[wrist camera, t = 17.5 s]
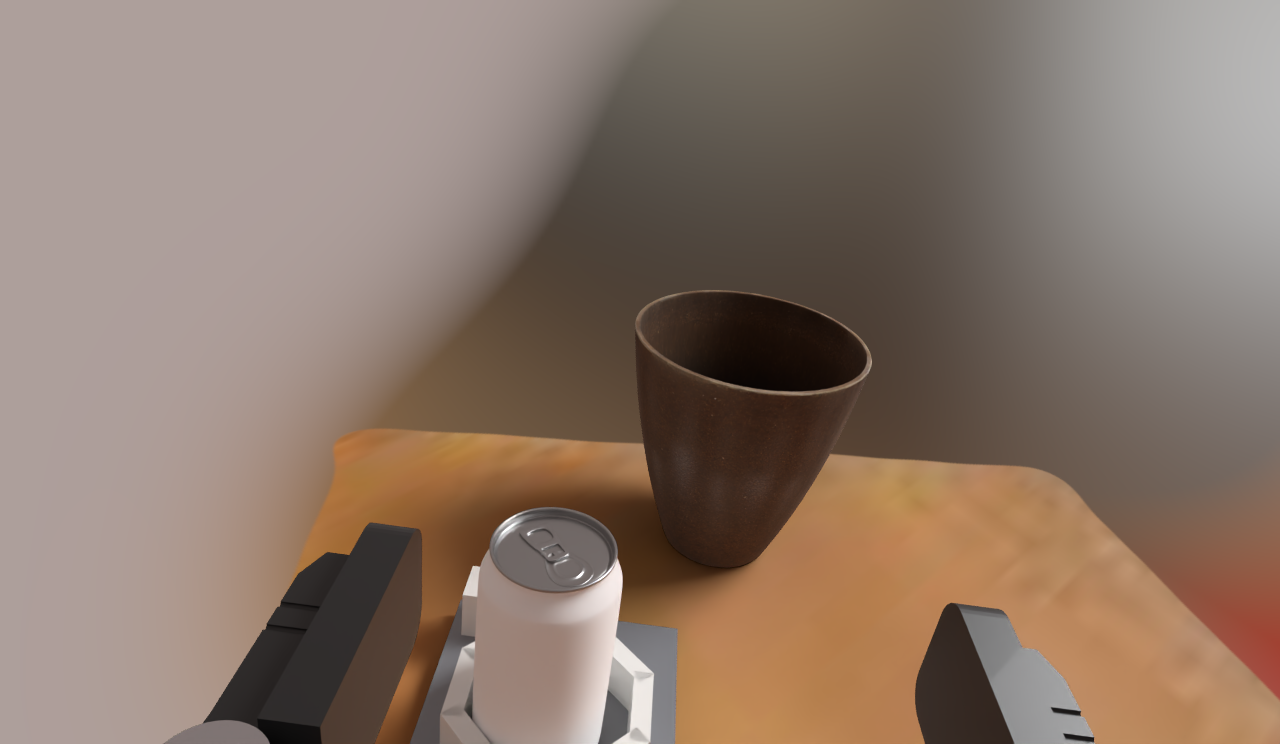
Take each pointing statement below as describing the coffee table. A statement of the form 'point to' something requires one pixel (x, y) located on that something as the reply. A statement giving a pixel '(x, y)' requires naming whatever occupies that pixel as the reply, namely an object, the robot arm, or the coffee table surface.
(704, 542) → the plant pot
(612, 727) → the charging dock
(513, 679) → the can
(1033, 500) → the coffee table surface
